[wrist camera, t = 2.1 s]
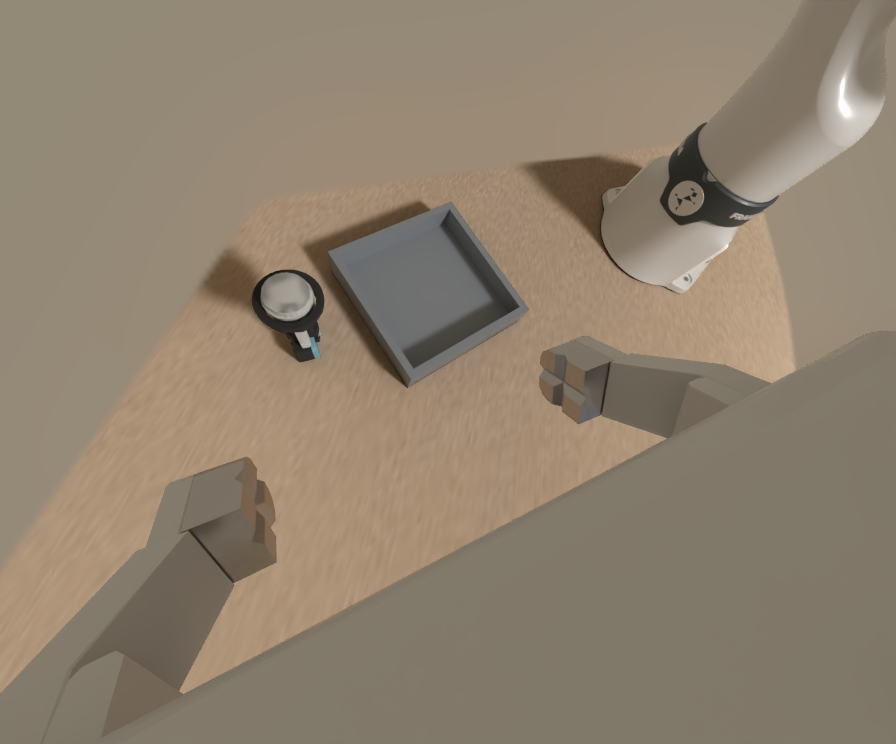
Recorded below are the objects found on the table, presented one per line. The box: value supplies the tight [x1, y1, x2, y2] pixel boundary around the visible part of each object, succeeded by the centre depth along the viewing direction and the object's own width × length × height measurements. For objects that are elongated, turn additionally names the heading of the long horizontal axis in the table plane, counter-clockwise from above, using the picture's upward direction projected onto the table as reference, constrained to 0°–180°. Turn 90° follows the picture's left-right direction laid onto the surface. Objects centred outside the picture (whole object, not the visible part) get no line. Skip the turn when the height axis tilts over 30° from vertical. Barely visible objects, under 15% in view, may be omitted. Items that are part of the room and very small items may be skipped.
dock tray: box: [328, 202, 529, 388], centre depth 39 cm, size 16×16×4 cm
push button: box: [252, 270, 324, 362], centre depth 31 cm, size 7×5×10 cm
